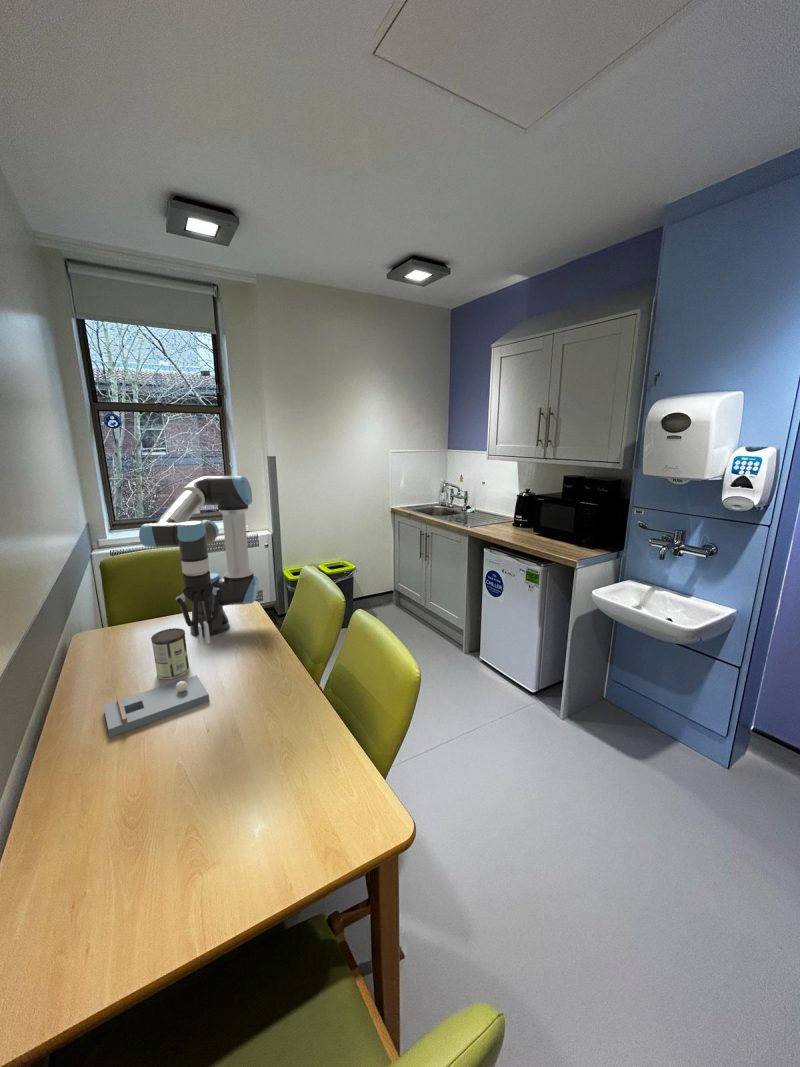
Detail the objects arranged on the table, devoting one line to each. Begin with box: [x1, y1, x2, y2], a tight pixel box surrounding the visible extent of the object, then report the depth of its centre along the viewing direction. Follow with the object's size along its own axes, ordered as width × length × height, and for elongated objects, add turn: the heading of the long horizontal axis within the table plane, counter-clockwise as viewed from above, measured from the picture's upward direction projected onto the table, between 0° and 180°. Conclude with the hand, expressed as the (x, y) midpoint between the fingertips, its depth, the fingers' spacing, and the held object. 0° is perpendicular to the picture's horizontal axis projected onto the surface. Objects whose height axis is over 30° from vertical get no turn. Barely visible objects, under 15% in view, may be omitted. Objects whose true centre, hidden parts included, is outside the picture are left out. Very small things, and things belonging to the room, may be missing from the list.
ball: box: [176, 681, 187, 692], centre depth 134 cm, size 3×3×3 cm
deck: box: [102, 674, 210, 738], centre depth 130 cm, size 26×14×4 cm, turn 129°
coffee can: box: [150, 627, 190, 680], centre depth 148 cm, size 10×10×14 cm
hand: (204, 642), depth 136 cm, fingers closed
